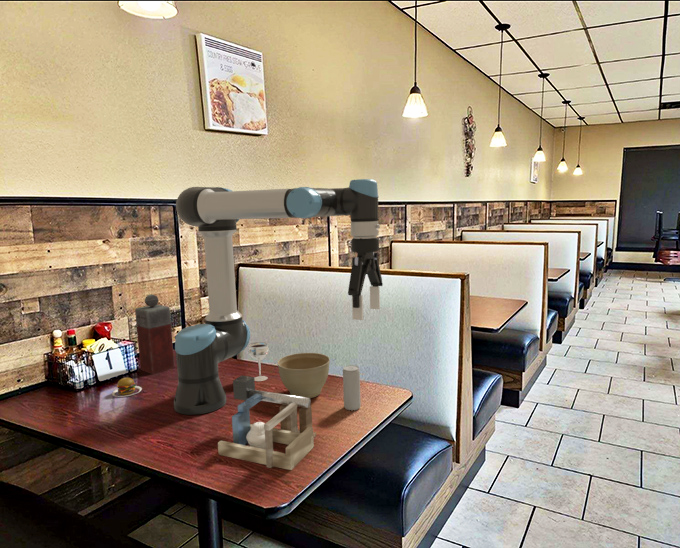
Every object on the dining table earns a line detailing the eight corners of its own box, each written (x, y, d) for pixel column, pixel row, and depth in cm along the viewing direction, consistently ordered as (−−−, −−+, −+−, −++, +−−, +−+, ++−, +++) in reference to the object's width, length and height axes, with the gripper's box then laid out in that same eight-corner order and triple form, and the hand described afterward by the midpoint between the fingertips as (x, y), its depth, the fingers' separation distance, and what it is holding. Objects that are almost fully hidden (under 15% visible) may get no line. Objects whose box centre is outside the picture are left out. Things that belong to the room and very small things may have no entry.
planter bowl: (290, 382, 161) (288, 351, 160) (336, 386, 157) (335, 353, 155) (270, 401, 146) (269, 367, 144) (321, 406, 141) (320, 370, 140)
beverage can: (359, 411, 137) (358, 371, 135) (342, 410, 138) (341, 370, 136) (361, 404, 141) (360, 365, 140) (345, 404, 142) (344, 364, 141)
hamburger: (148, 385, 165) (146, 369, 164) (145, 398, 154) (144, 381, 153) (109, 390, 161) (107, 374, 161) (104, 404, 150) (102, 387, 149)
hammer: (213, 443, 120) (209, 393, 118) (244, 420, 132) (241, 375, 130) (287, 458, 111) (284, 405, 109) (313, 432, 123) (311, 384, 122)
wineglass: (246, 379, 165) (244, 345, 164) (260, 373, 171) (258, 341, 169) (260, 383, 161) (258, 348, 160) (274, 377, 167) (272, 343, 165)
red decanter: (159, 362, 188) (153, 291, 184) (175, 367, 181) (168, 293, 177) (137, 368, 181) (130, 295, 177) (152, 374, 174) (145, 297, 170)
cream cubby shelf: (277, 436, 123) (276, 407, 122) (285, 430, 127) (284, 401, 126) (308, 442, 120) (307, 412, 119) (316, 435, 123) (314, 405, 122)
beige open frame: (216, 456, 115) (213, 415, 113) (247, 432, 126) (245, 395, 125) (289, 472, 107) (287, 428, 105) (315, 445, 118) (313, 406, 117)
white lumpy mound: (264, 457, 113) (263, 429, 112) (242, 453, 115) (240, 426, 114) (277, 445, 119) (275, 418, 118) (255, 441, 121) (253, 415, 120)
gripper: (361, 240, 118) (363, 325, 121) (392, 234, 141) (393, 305, 144) (333, 240, 121) (336, 323, 124) (367, 234, 144) (369, 304, 147)
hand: (366, 314), depth 134 cm, fingers open, 13 cm apart
